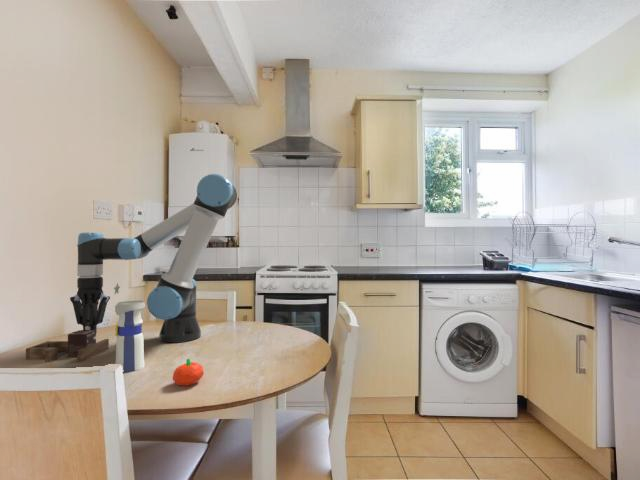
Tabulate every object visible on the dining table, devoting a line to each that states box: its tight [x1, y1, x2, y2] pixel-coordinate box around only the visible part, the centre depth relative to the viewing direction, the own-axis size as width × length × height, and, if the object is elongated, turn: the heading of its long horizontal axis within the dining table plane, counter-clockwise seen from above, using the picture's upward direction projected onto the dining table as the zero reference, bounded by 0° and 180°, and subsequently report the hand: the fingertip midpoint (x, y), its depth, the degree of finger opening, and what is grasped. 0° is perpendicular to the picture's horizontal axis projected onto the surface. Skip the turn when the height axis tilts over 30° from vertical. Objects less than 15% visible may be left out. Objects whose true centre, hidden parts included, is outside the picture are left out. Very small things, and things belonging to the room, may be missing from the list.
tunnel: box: [25, 338, 110, 363], centre depth 118 cm, size 20×14×4 cm
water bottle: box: [113, 282, 146, 373], centre depth 105 cm, size 8×9×25 cm
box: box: [67, 329, 97, 357], centre depth 120 cm, size 6×6×7 cm
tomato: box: [172, 358, 204, 386], centre depth 93 cm, size 7×8×6 cm
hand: (89, 344), depth 124 cm, fingers closed
